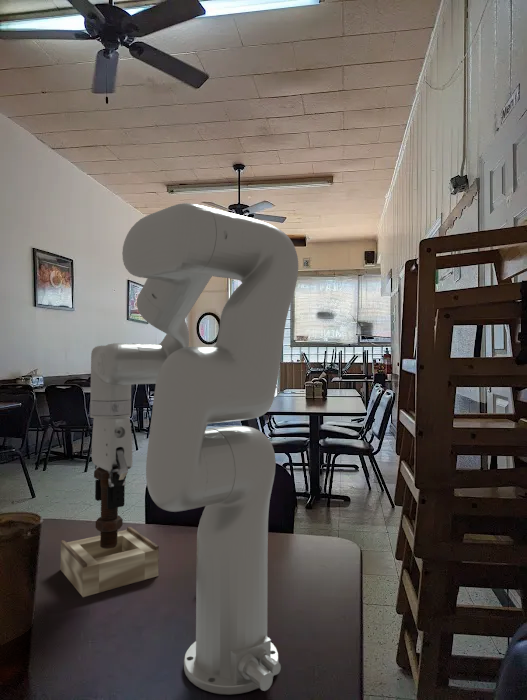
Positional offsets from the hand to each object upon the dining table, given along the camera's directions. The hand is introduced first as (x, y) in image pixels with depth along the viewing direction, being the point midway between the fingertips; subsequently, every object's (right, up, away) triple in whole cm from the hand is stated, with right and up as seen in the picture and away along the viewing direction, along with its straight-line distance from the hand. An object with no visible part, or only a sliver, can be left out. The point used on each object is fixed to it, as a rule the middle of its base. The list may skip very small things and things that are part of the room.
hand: (109, 502), depth 94 cm
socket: (0, -13, 0) cm, 13 cm away
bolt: (0, -9, 0) cm, 9 cm away
